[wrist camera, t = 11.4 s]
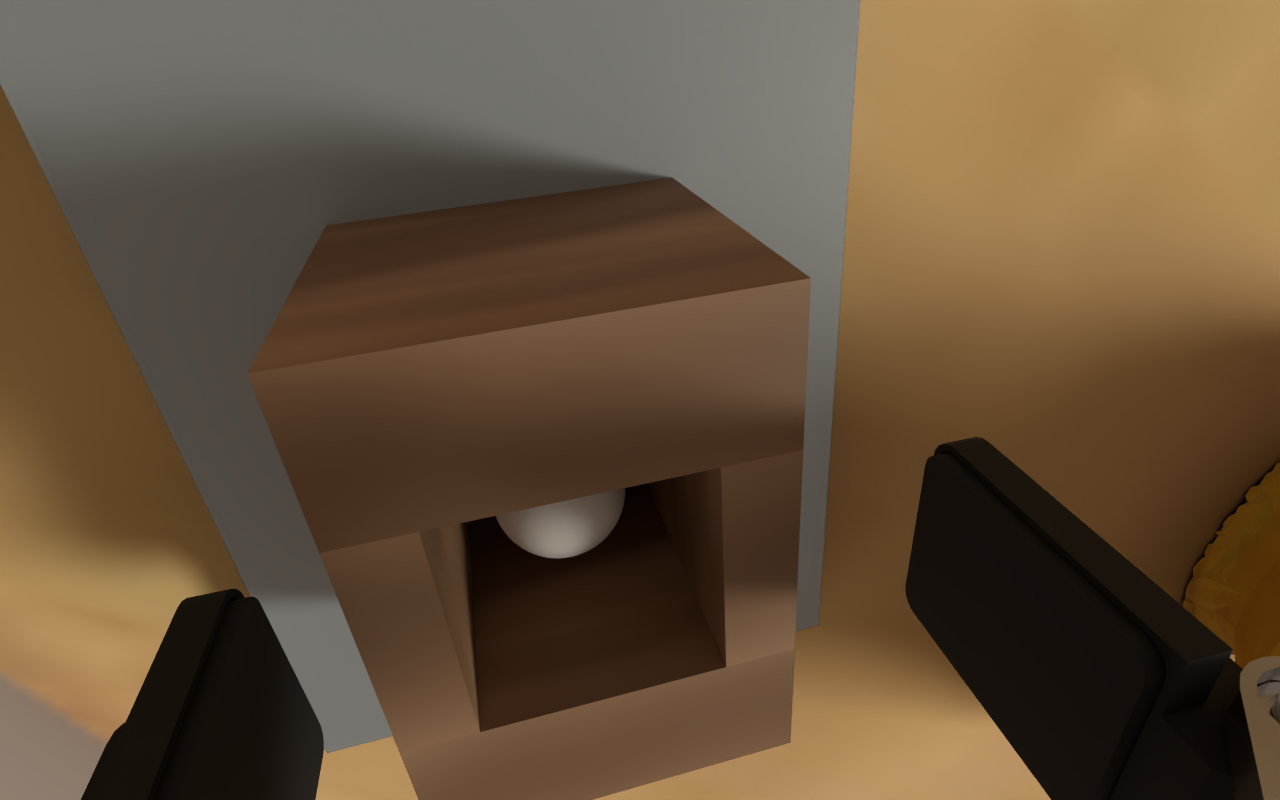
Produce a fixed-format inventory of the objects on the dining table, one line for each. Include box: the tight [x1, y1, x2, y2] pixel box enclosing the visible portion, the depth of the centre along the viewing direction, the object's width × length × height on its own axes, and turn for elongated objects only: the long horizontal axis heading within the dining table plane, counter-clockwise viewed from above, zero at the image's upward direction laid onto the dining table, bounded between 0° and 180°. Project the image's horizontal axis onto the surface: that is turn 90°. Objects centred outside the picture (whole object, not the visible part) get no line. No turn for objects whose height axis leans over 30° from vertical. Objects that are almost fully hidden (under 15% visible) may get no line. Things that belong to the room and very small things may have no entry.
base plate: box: [0, 0, 860, 753], centre depth 14 cm, size 18×14×6 cm
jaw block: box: [247, 178, 811, 800], centre depth 13 cm, size 9×6×6 cm
